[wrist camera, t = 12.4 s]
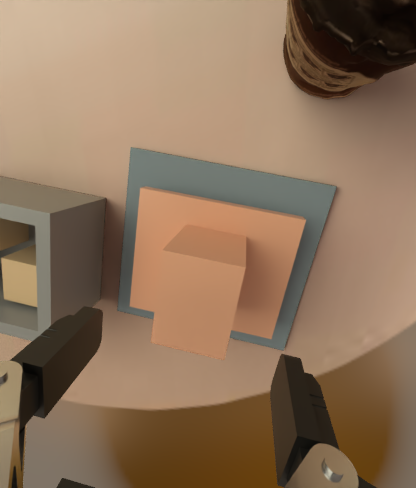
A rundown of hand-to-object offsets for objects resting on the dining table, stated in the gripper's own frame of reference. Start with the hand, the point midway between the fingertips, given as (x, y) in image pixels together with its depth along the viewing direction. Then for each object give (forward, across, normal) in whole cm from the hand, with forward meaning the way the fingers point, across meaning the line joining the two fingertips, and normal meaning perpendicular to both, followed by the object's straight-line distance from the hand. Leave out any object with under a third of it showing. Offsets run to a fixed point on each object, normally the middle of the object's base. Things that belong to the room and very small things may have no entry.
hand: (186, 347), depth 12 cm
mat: (+12, 0, 0) cm, 12 cm away
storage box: (+12, +16, +2) cm, 20 cm away
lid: (+12, 0, 0) cm, 12 cm away
